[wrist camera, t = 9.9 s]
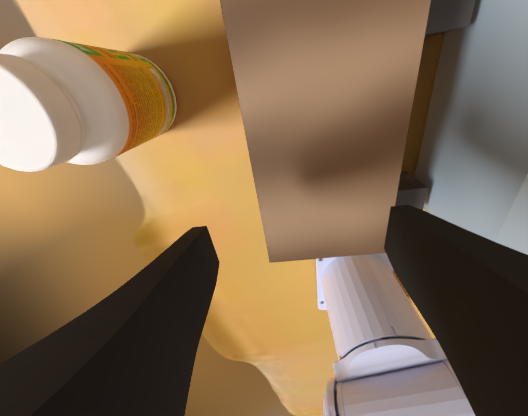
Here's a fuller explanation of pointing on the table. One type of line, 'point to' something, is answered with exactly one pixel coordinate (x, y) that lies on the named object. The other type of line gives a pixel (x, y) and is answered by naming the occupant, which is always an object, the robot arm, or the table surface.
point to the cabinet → (331, 114)
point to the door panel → (481, 126)
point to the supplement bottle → (77, 103)
